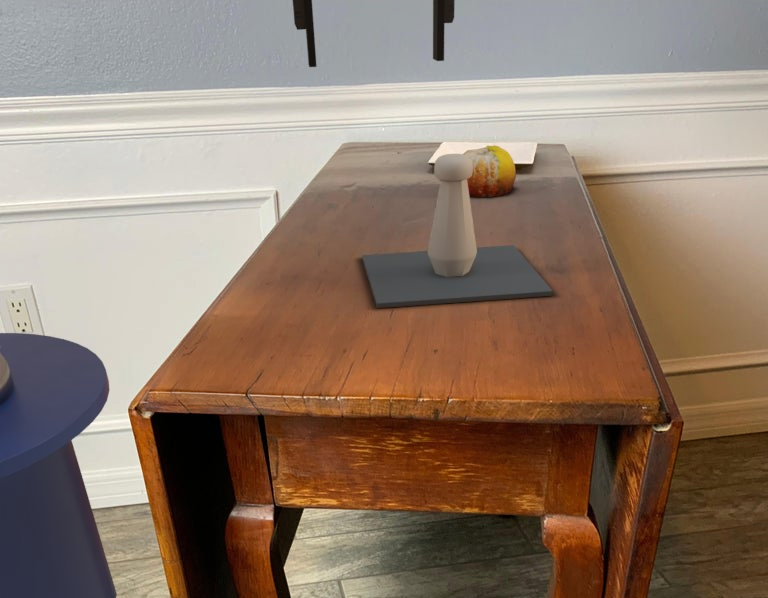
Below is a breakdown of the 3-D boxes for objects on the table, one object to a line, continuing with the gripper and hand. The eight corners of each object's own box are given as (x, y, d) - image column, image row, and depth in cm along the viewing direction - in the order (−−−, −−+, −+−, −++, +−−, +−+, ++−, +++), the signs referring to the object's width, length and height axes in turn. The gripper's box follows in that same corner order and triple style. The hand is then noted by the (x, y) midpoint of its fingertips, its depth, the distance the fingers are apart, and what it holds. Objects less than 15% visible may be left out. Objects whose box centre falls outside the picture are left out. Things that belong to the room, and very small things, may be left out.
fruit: (453, 179, 137) (468, 130, 132) (510, 199, 136) (527, 151, 131) (440, 192, 128) (455, 141, 123) (500, 214, 127) (518, 164, 122)
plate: (441, 153, 158) (442, 141, 157) (536, 153, 155) (537, 141, 153) (427, 173, 143) (427, 161, 142) (532, 174, 140) (532, 162, 138)
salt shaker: (480, 277, 93) (484, 159, 86) (432, 280, 93) (432, 162, 86) (470, 262, 98) (473, 149, 91) (424, 265, 98) (424, 152, 90)
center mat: (376, 308, 88) (376, 303, 87) (362, 259, 103) (362, 254, 102) (552, 296, 89) (553, 290, 89) (513, 249, 104) (513, 244, 104)
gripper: (491, -198, 77) (482, 54, 89) (232, -192, 75) (259, 64, 87) (510, -212, 71) (498, 60, 83) (228, -206, 69) (258, 72, 81)
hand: (375, 63), depth 85 cm, fingers open, 13 cm apart
